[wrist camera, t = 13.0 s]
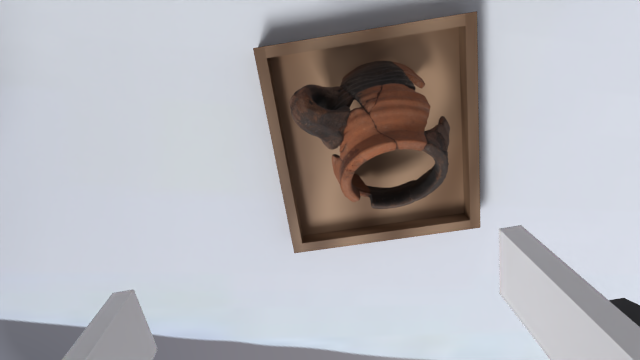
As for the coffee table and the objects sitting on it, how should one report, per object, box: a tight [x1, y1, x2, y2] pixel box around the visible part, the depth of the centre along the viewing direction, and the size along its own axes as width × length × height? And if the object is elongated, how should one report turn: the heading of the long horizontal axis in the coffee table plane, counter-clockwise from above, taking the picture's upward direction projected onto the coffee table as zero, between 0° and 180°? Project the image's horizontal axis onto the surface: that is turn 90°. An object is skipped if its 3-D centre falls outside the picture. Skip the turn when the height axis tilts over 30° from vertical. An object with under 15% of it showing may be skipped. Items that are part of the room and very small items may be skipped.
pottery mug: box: [289, 61, 450, 209], centre depth 28 cm, size 12×10×8 cm
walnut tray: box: [253, 12, 480, 253], centre depth 30 cm, size 16×17×2 cm
